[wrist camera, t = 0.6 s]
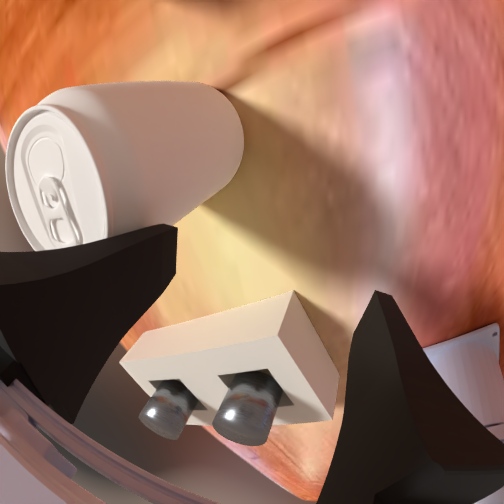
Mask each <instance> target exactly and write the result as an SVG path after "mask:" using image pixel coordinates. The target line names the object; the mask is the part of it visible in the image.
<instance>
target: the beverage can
mask: <svg viewBox="0 0 504 504" xmlns="http://www.w3.org/2000/svg"><path fill="white" fill-rule="evenodd" d="M243 151H244V134H243V128H242V124H241V121H240V118H239V116H238V114H237V112H236V110H235V108H234V107H233V105H232V104H231V102H230V101H229V100H228V99H227V98H226V97H225V96H224V95H223V94H222V93H221V92H219V91H218V90H216V89H215V88H213V87H211V86H209V85H206V84H203V83H200V82H193V81H135V82H116V83H103V84H92V85H83V86H74V87H68V88H63V89H60V90H58V91H55V92H53V93H51V94H50V95H48V96H47V97H45V98H44V99H43V100H42V101H41V102H40V103H39V104H38V105H36V106H33V107H31V108H29V109H28V110H26V111H25V112H24V113H23V114H22V115H21V116H20V117H19V118H18V120H17V121H16V123H15V125H14V127H13V129H12V131H11V134H10V137H9V141H8V145H7V151H6V165H5V167H6V182H7V188H8V194H9V198H10V202H11V205H12V208H13V211H14V214H15V217H16V219H17V222H18V224H19V226H20V228H21V230H22V232H23V233H24V235H25V237H26V239H27V240H28V242H29V243H30V245H31V246H32V248H33V249H34V250H35V251H43V250H51V249H60V248H66V247H71V246H77V245H81V244H86V243H90V242H94V241H98V240H102V239H105V238H109V237H113V236H117V235H120V234H124V233H127V232H130V231H134V230H138V229H141V228H145V227H149V226H153V225H157V224H163V223H164V224H167V225H170V226H173V225H174V224H175V223H177V222H178V221H179V220H181V219H182V218H183V217H185V216H186V215H187V214H189V213H190V212H191V211H193V210H194V209H195V208H197V207H198V206H199V205H201V204H202V203H203V202H205V201H206V200H207V199H209V198H210V197H212V196H213V195H214V194H216V193H217V192H218V191H220V190H221V189H222V188H224V187H225V186H226V185H227V184H228V183H229V182H230V181H231V180H232V178H233V177H234V175H235V174H236V172H237V170H238V168H239V166H240V163H241V160H242V156H243Z"/></svg>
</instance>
